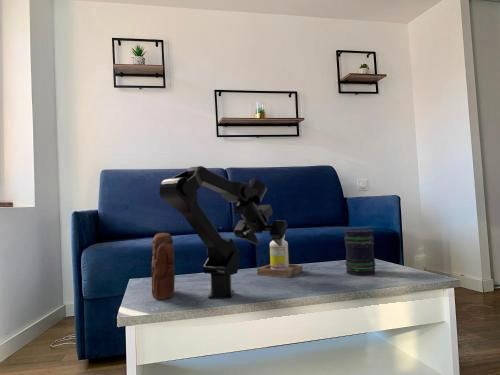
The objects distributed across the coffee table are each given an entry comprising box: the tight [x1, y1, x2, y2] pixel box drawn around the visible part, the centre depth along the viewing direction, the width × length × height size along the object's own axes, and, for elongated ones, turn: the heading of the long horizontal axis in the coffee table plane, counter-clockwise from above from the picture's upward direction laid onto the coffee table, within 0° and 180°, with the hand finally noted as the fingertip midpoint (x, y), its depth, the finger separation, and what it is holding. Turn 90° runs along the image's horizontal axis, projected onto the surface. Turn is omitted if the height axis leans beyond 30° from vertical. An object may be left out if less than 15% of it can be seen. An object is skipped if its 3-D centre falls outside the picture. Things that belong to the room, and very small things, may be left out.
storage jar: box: [344, 228, 376, 277], centre depth 120 cm, size 10×10×15 cm
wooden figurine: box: [151, 232, 176, 300], centre depth 101 cm, size 12×6×18 cm, turn 19°
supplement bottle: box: [269, 233, 290, 270], centre depth 125 cm, size 7×7×13 cm
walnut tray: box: [256, 263, 303, 279], centre depth 125 cm, size 12×12×2 cm
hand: (269, 244), depth 120 cm, fingers open, 9 cm apart
